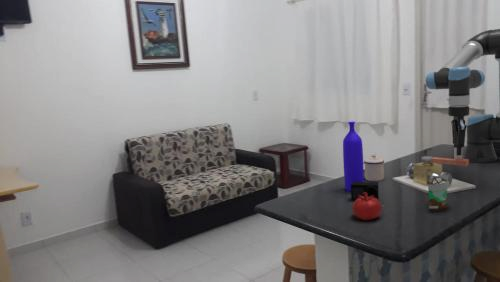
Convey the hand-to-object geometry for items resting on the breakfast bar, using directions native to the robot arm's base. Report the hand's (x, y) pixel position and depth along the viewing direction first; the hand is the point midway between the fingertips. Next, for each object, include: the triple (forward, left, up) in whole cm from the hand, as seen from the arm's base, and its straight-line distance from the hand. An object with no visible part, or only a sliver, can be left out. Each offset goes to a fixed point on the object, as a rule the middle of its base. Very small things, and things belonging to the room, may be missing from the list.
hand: (458, 162), depth 163 cm
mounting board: (+6, -8, -10) cm, 15 cm away
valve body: (+8, -8, -9) cm, 15 cm away
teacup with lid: (+22, -29, -11) cm, 38 cm away
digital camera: (+42, -4, -11) cm, 43 cm away
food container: (+23, +16, -11) cm, 30 cm away
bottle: (+38, -18, -11) cm, 44 cm away
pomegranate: (+51, +12, -11) cm, 53 cm away
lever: (+5, -3, 0) cm, 6 cm away
